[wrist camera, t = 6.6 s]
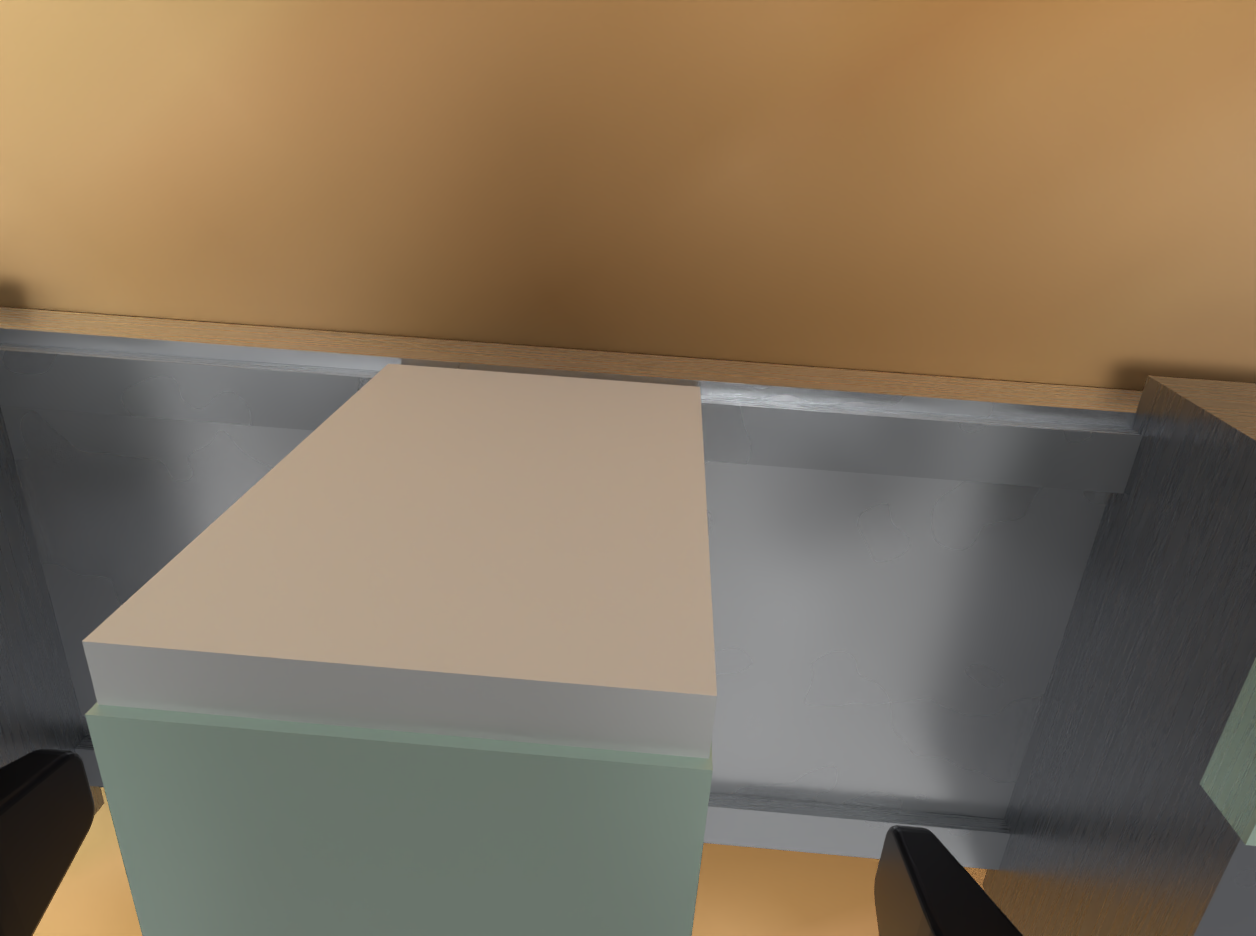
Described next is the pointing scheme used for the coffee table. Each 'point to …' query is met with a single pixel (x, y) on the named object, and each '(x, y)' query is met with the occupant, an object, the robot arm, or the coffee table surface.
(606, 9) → the coffee table surface
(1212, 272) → the coffee table surface
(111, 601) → the rail
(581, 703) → the module
